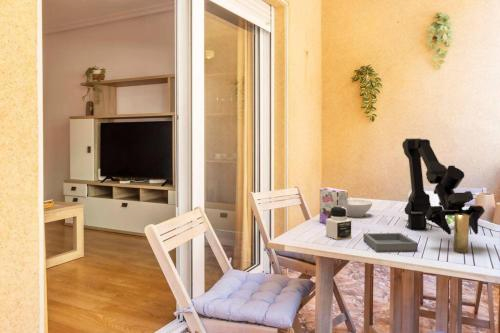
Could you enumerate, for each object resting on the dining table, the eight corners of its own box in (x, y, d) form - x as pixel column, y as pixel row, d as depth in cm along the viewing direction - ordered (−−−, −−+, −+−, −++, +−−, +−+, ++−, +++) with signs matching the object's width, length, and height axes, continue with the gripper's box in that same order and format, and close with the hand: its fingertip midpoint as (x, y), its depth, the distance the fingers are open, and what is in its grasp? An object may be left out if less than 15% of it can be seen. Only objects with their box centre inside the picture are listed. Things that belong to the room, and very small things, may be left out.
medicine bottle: (337, 240, 151) (337, 209, 150) (325, 236, 157) (325, 206, 156) (351, 237, 154) (351, 207, 153) (339, 234, 160) (339, 205, 160)
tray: (376, 252, 135) (376, 243, 134) (363, 241, 149) (363, 233, 149) (417, 251, 135) (417, 243, 135) (400, 240, 149) (400, 232, 149)
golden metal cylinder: (457, 253, 132) (459, 215, 131) (450, 249, 137) (452, 213, 136) (470, 253, 132) (472, 215, 131) (463, 249, 137) (464, 213, 136)
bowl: (376, 218, 189) (376, 204, 188) (343, 219, 189) (343, 204, 189) (367, 212, 205) (367, 199, 204) (336, 212, 205) (336, 199, 205)
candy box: (319, 222, 183) (319, 187, 182) (329, 221, 185) (329, 186, 184) (336, 228, 170) (337, 191, 169) (347, 227, 173) (348, 190, 171)
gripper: (430, 183, 136) (445, 221, 126) (482, 182, 137) (502, 220, 127) (419, 202, 145) (433, 238, 135) (468, 201, 145) (486, 238, 135)
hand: (463, 233), depth 133 cm, fingers open, 9 cm apart
